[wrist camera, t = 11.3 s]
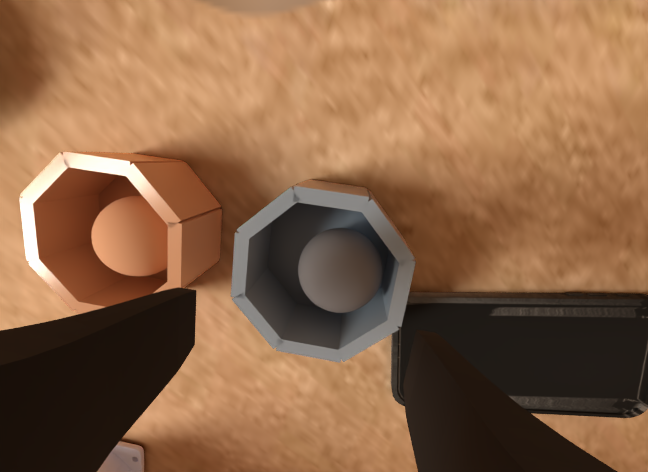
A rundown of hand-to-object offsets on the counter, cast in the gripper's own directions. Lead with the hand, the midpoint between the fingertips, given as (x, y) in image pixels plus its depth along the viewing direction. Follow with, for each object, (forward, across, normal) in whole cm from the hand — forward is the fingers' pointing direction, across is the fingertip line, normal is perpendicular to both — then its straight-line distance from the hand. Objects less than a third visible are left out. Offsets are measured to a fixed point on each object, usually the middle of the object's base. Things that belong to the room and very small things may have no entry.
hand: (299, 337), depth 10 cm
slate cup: (+9, 0, 0) cm, 9 cm away
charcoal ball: (+7, -1, 0) cm, 7 cm away
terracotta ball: (+7, +10, 0) cm, 12 cm away
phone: (+10, -12, +4) cm, 16 cm away
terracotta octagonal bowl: (+9, +11, 0) cm, 14 cm away
